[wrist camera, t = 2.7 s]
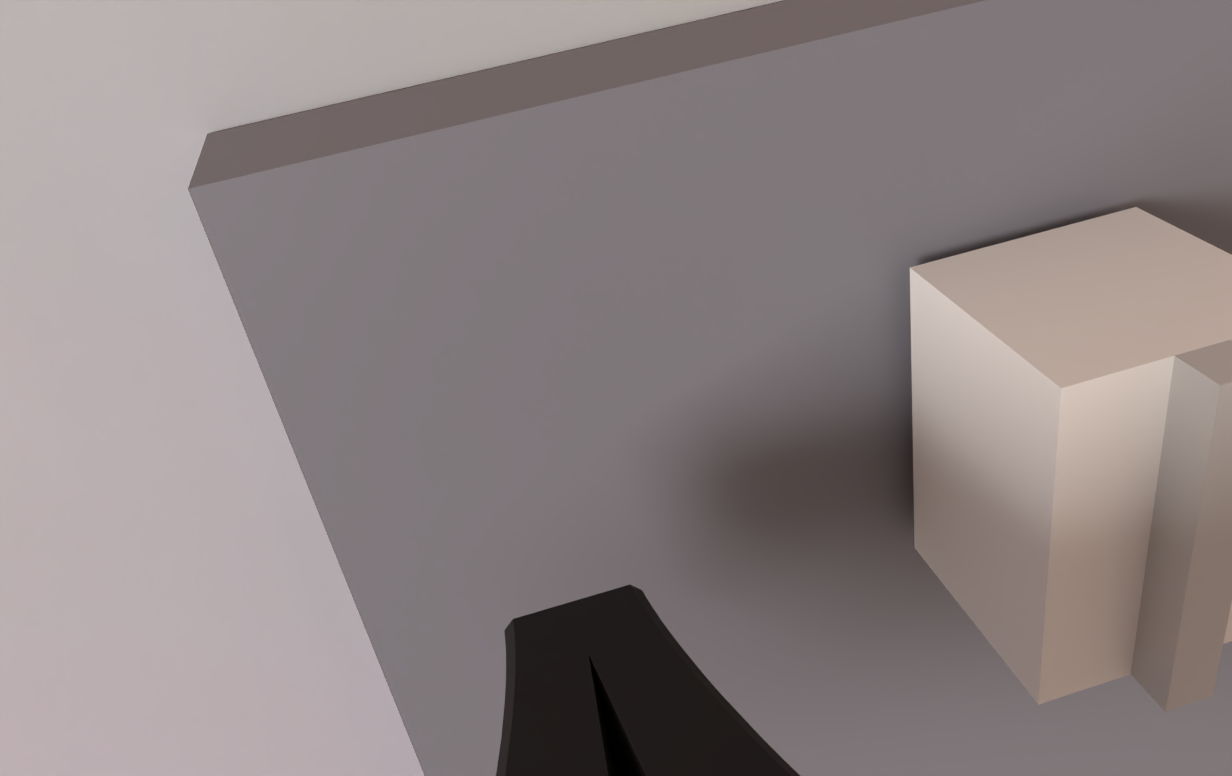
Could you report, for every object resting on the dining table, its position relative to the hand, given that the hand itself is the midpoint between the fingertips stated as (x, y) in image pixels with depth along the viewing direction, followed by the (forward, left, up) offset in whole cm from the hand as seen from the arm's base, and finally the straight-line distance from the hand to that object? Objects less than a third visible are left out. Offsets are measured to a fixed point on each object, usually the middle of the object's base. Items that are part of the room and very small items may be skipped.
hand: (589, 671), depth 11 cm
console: (+6, -3, -5) cm, 9 cm away
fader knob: (+6, 0, -3) cm, 7 cm away
